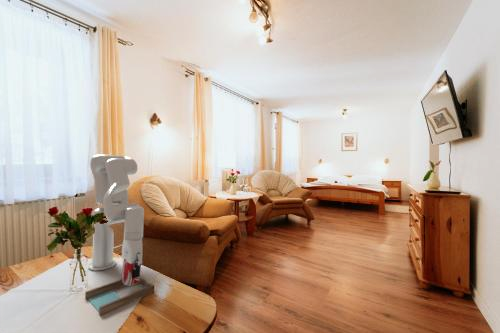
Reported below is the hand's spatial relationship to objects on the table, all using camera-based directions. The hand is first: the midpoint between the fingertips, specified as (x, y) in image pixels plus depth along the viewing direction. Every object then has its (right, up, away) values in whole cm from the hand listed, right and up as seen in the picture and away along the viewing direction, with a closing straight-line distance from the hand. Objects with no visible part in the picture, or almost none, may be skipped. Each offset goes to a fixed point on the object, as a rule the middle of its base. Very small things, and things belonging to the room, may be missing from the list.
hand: (131, 274), depth 101 cm
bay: (-3, -7, -4) cm, 9 cm away
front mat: (-6, -7, -8) cm, 12 cm away
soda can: (0, -4, 0) cm, 4 cm away
